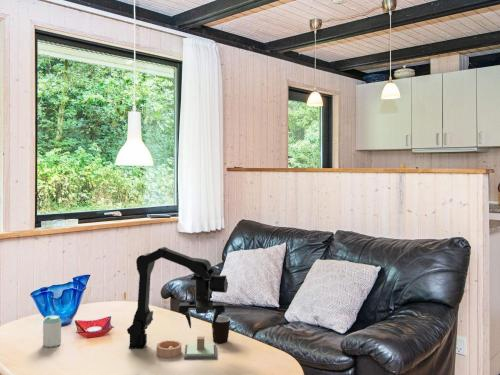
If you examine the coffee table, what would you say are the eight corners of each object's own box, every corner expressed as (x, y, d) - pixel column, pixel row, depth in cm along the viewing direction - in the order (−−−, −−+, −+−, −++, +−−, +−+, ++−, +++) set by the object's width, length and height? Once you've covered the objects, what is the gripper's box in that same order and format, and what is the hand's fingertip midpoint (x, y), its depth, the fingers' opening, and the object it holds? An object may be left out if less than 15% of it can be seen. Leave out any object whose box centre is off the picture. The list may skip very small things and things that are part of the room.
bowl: (155, 358, 192) (155, 349, 192) (157, 348, 202) (158, 340, 202) (180, 357, 193) (180, 349, 193) (181, 348, 203) (182, 340, 203)
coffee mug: (227, 345, 207) (227, 322, 207) (208, 343, 209) (208, 321, 209) (233, 336, 219) (234, 315, 218) (215, 334, 220) (215, 313, 220)
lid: (186, 355, 192) (186, 342, 192) (187, 345, 203) (187, 333, 203) (214, 355, 193) (214, 342, 193) (213, 345, 204) (213, 333, 204)
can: (54, 348, 199) (54, 320, 199) (39, 347, 200) (39, 318, 200) (64, 342, 206) (64, 315, 205) (49, 341, 207) (49, 313, 207)
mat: (184, 359, 191) (184, 356, 191) (185, 347, 204) (185, 344, 204) (216, 358, 193) (216, 356, 193) (216, 346, 206) (216, 344, 206)
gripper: (178, 296, 189) (177, 335, 189) (225, 295, 190) (224, 334, 191) (179, 288, 200) (179, 325, 200) (224, 288, 201) (223, 325, 202)
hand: (201, 328), depth 198 cm, fingers open, 9 cm apart
